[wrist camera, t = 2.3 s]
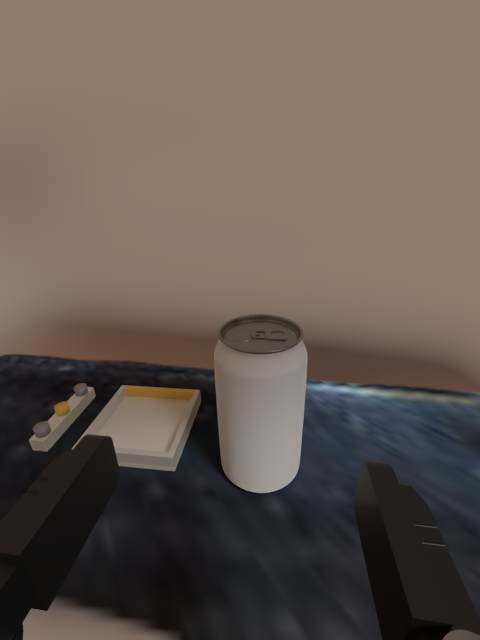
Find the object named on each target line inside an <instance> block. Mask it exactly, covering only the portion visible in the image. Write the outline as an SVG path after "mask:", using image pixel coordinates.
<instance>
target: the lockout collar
mask: <svg viewBox="0 0 480 640" xmlns="http://www.w3.org/2000/svg"><path fill="white" fill-rule="evenodd" d="M200 403H201V395H200V390H192V389H176V388H160V387H144V386H128V385H122V386H121V387H120V388H119V390H118V391H117V392H116V393H115V395H114V396H113V397H112V398H111V400H110V401H109V402H108V403H107V405H106V406H105V407H104V409H103V410H102V411H101V412H100V414H99V415H98V416H97V417H96V419H95V420H94V421H93V422H92V424H91V425H90V426H89V427H88V429H87V430H86V431H85V432H84V434H83V435H82V436H81V437H80V439H79V440H78V441H77V443H76V444H75V445H74V446H73V448H72V450H73V449H74V447H75V446H76V445H77V444H78V443H79V441H80V440H81V439H82V438H83V437H84V436H85V435H88V434H90V435H101V436H110V437H111V438H112V440H113V444H114V448H115V452H116V457H117V461H118V465H119V466H125V467H135V468H145V469H156V470H166V471H175V470H176V467H177V465H178V462H179V459H180V457H181V454H182V451H183V449H184V446H185V443H186V441H187V438H188V435H189V433H190V430H191V427H192V425H193V422H194V419H195V417H196V414H197V411H198V409H199V406H200Z"/></svg>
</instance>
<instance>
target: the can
mask: <svg viewBox="0 0 480 640" xmlns="http://www.w3.org/2000/svg"><path fill="white" fill-rule="evenodd" d="M218 335H219V340H218V343H217V345H216V347H215V350H214V372H215V387H216V401H217V415H218V429H219V442H220V454H221V463H222V468H223V471H224V473H225V474H226V476H227V477H228V479H229V480H230V481H231V482H232V483H234V484H235V485H236V486H238V487H240V488H242V489H244V490H247V491H250V492H255V493H268V492H273V491H277V490H279V489H281V488H283V487H285V486H286V485H288V484H289V483H290V482H291V481H292V480H293V479H294V477H295V476H296V474H297V472H298V468H299V463H300V453H301V441H302V429H303V417H304V404H305V391H306V377H307V360H308V356H307V350H306V347H305V345H304V343H303V341H302V338H303V331H302V329H301V328H300V326H299V325H298V324H296V323H295V322H293V321H291V320H289V319H286V318H283V317H278V316H273V315H247V316H241V317H238V318H234V319H232V320H230V321H228V322H226V323H225V324H223V325H222V326H221V328H220V329H219V332H218Z"/></svg>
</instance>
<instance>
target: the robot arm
mask: <svg viewBox="0 0 480 640" xmlns="http://www.w3.org/2000/svg"><path fill="white" fill-rule="evenodd" d="M118 479H119V465H118V461H117V457H116V452H115V448H114V444H113V440H112V438H111V437H110V436H101V435H90V434H88V435H85V436H84V437H83V438H82V439H81V440H80V441H79V443H78V444H77V445H76V446H75V447H74V449H73V450H66V451H65V452H64V453H62V454H61V455H60V456H58V457H57V458H55V459H54V460H53V461H51V462H50V463H49V465H48V466H47V467H46V468H45V469H44V470H43V472H42V473H41V474H40V475H39V476H38V479H37V480H36V481H34V482H33V483H32V485H31V486H30V487H29V488H28V489H27V492H26V494H23V495H22V496H21V498H20V499H19V500H18V501H17V502H16V503H15V505H14V506H13V507H12V508H11V509H10V511H9V512H8V513H7V514H6V515H5V516H4V518H3V519H2V520H1V521H0V640H23V624H22V623H23V621H24V619H25V618H26V616H27V614H28V613H29V611H30V609H31V608H34V609H39V610H45V611H47V610H48V608H49V606H50V605H51V603H52V601H53V599H54V598H55V596H56V594H57V592H58V590H59V589H60V587H61V585H62V583H63V581H64V580H65V578H66V576H67V574H68V572H69V571H70V569H71V567H72V565H73V564H74V562H75V560H76V558H77V556H78V555H79V553H80V551H81V549H82V547H83V546H84V544H85V542H86V540H87V538H88V537H89V535H90V533H91V531H92V530H93V528H94V526H95V524H96V522H97V521H98V519H99V517H100V515H101V513H102V512H103V510H104V508H105V506H106V504H107V503H108V501H109V499H110V497H111V495H112V494H113V492H114V490H115V488H116V486H117V483H118ZM354 505H355V516H356V521H357V526H358V530H359V535H360V540H361V544H362V549H363V553H364V558H365V562H366V567H367V572H368V576H369V581H370V585H371V590H372V594H373V599H374V604H375V608H376V613H377V617H378V622H379V626H380V631H381V636H382V640H480V620H479V618H478V616H477V613H476V611H475V609H474V607H473V605H472V602H471V600H470V598H469V596H468V594H467V591H466V589H465V587H464V585H463V583H462V580H461V578H460V576H459V574H458V572H457V569H456V567H455V565H454V563H453V560H452V558H451V556H450V554H449V552H448V549H447V548H445V543H444V541H443V538H442V536H441V534H440V532H439V530H437V525H436V523H435V521H434V519H433V516H432V514H431V512H430V510H429V507H428V505H427V504H426V503H425V501H424V500H423V499H422V498H421V497H420V496H419V494H418V493H417V492H416V491H415V490H414V489H413V488H412V486H404V485H399V483H398V480H397V478H396V475H395V473H394V470H393V468H392V466H391V465H390V464H384V463H373V462H362V464H361V468H360V473H359V477H358V482H357V487H356V492H355V500H354Z"/></svg>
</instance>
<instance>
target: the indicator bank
mask: <svg viewBox="0 0 480 640" xmlns="http://www.w3.org/2000/svg"><path fill="white" fill-rule="evenodd" d="M74 391H75V394H74V395H73V396H72V397H71V398H70V399H69V400H68V401H67V402H65V401H64V402H60V403H58V404H56V405H55V406H54V409H55V412H56V413H55V414H54V415H53V416H52V417H51V418H50V419H49V420H48V421H42V422H39V423H37V424H36V425H35V426H34V427H33V431H34V433H35V434H34V435H33V436H32V437H31V438H30V439H29V442H30V445H31V447H32V449H33V450H34V451H45V452H48V450H49V449H50V448H51V447H52V446H53V445H54V444H55V442H56V441H57V440H58V439H59V438H60V437H61V436H62V434H63V433H64V432H65V431H66V430H67V429H68V428H69V426H70V425H71V424H72V423H73V422H74V421H75V420H76V418H77V417H78V416H79V415H80V414H81V413H82V412H83V410H84V409H85V408H86V407H87V406H88V405H89V404H90V402H91V401H92V400H93V399H94V398H95V397H96V395H95V391H94V388H93V387H87V385H86V384H85V383H80V384H77V385H76V386H75V387H74Z"/></svg>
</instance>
